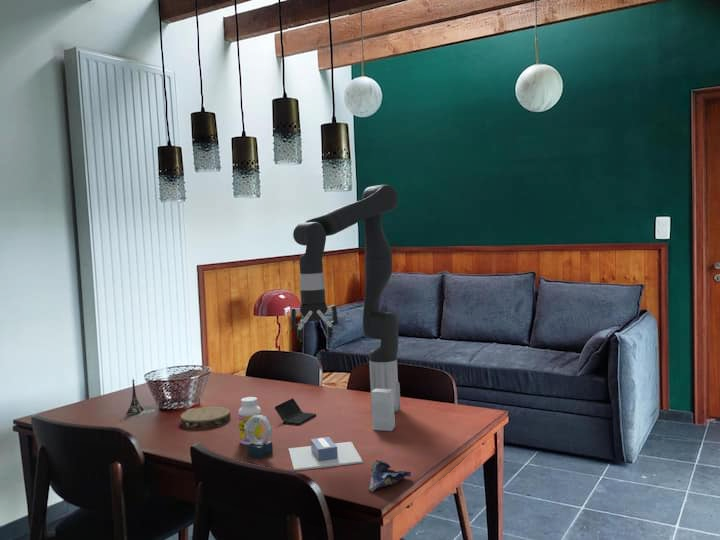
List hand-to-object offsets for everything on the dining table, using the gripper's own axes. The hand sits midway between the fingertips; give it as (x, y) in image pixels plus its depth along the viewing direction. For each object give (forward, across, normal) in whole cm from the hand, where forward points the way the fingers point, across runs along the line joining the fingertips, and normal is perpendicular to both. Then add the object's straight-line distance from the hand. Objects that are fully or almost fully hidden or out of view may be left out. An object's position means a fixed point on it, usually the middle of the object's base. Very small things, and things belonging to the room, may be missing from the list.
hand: (315, 340), depth 197 cm
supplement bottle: (+28, -21, -6) cm, 35 cm away
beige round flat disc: (+28, -35, +20) cm, 49 cm away
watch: (+28, -20, -18) cm, 38 cm away
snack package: (+28, +9, -47) cm, 56 cm away
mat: (+27, -2, -25) cm, 37 cm away
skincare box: (+28, +19, -7) cm, 34 cm away
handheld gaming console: (+28, -6, +12) cm, 31 cm away
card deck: (+27, -2, -25) cm, 37 cm away
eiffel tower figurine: (+28, -60, +40) cm, 77 cm away
